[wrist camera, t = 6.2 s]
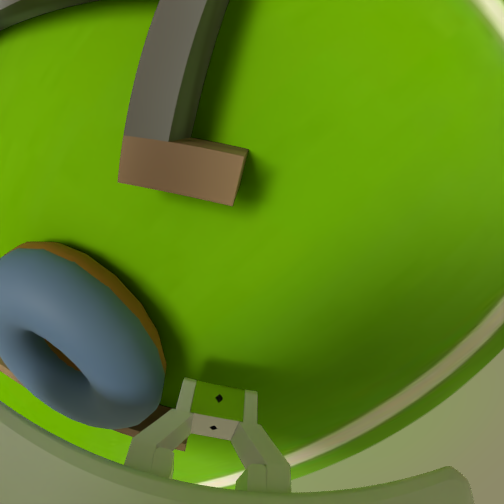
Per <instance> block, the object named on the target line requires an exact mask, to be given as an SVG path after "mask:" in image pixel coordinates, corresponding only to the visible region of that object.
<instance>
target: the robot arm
mask: <svg viewBox="0 0 504 504" xmlns="http://www.w3.org/2000/svg"><path fill="white" fill-rule="evenodd" d="M257 409H258V393H257V391H252V390H244V389H241V388H235V387H229V386H223V385H216V384H212V383H207V382H203V381H199V380H195V379H191V378H186V377H185V378H184V380H183V383H182V387H181V391H180V394H179V398H178V402H177V406H176V409H173V408H172V409H171V410H169V411H168V412H167V413H166V414H164V415H163V416H162V417H160V418H159V419H158V420H156V421H155V422H154V423H152V424H151V425H150V426H148V427H147V428H145V429H144V430H143V431H141V432H140V433H139V434H137V435H136V436H134V437H133V438H132V441H131V444H130V448H129V451H128V454H127V457H126V460H125V463H124V465H122V464H119V463H117V462H114V461H111V460H109V459H106V458H103V457H101V456H98V455H96V454H94V453H91V452H89V451H87V450H84V449H82V448H80V447H78V446H76V445H74V444H72V443H69V442H67V441H65V440H63V439H61V438H60V437H58V436H56V435H54V434H52V433H50V432H48V431H47V430H45V429H43V428H41V427H40V426H38V425H36V424H34V423H33V422H31V421H30V420H28V419H26V418H25V417H23V416H22V415H20V414H19V413H17V412H16V411H14V410H13V409H11V408H10V407H8V406H7V405H5V404H4V403H3V402H1V401H0V504H474V500H473V496H472V491H471V488H470V484H469V482H468V480H467V479H466V478H465V477H464V476H463V475H462V474H461V473H460V472H458V471H457V470H456V469H454V468H453V467H451V466H446V467H442V468H440V469H436V470H433V471H430V472H427V473H423V474H420V475H416V476H413V477H409V478H405V479H401V480H397V481H393V482H388V483H383V484H377V485H372V486H366V487H360V488H352V489H344V490H334V491H322V492H303V493H302V492H301V493H291V473H290V464H289V463H288V462H287V461H286V459H285V458H284V457H283V455H282V454H281V452H280V451H279V450H278V448H277V447H276V446H275V444H274V443H273V441H272V440H271V439H270V437H269V436H268V434H267V433H266V432H265V430H264V429H263V427H262V426H261V425H259V424H257ZM190 433H193V434H198V435H204V436H210V437H215V438H220V439H225V440H231V443H232V445H233V447H234V449H235V451H236V452H237V454H238V456H239V458H240V460H241V462H242V463H243V465H244V467H245V469H246V470H245V471H244V472H243V474H242V475H241V476H240V477H239V478H238V480H237V481H236V488H235V490H232V489H224V488H216V487H210V486H204V485H198V484H193V483H188V482H183V481H178V480H174V479H172V476H173V471H174V453H173V452H172V451H173V450H174V449H175V448H176V447H177V446H178V445H180V444H181V443H182V442H183V441H184V440H185V439H186V438H187V437H188V436H189V435H190Z"/></svg>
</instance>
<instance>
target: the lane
mask: <svg viewBox="0 0 504 504" xmlns="http://www.w3.org/2000/svg"><path fill="white" fill-rule="evenodd" d="M93 1H99V0H0V30H2V29H5V28H7V27H9V26H12V25H14V24H17V23H19V22H22V21H24V20H27V19H30V18H33V17H36V16H39V15H42V14H45V13H48V12H51V11H55V10H58V9H62V8H66V7H70V6H74V5H78V4H83V3H88V2H93ZM228 2H229V0H160V1H159V4H158V6H157V9H156V11H155V14H154V17H153V20H152V23H151V26H150V28H149V31H148V35H147V38H146V41H145V44H144V47H143V51H142V54H141V58H140V61H139V65H138V69H137V73H136V77H135V81H134V85H133V89H132V94H131V98H130V103H129V108H128V113H127V119H126V124H125V130H124V136H123V143H122V149H121V157H120V165H119V174H118V182H119V183H125V184H130V185H135V186H140V187H145V188H150V189H155V190H160V191H165V192H170V193H175V194H180V195H184V196H189V197H194V198H198V199H203V200H207V201H212V202H216V203H221V204H225V205H229V206H233V203H234V201H235V198H236V195H237V192H238V189H239V186H240V182H241V178H242V174H243V170H244V166H245V162H246V158H247V154H248V150H249V149H245V148H241V147H236V146H232V145H227V144H222V143H217V142H212V141H207V140H202V139H197V138H191V135H192V130H193V126H194V121H195V117H196V112H197V108H198V104H199V100H200V96H201V92H202V88H203V84H204V80H205V77H206V73H207V69H208V66H209V62H210V59H211V55H212V52H213V48H214V45H215V42H216V38H217V35H218V32H219V29H220V26H221V23H222V20H223V17H224V14H225V11H226V8H227V5H228ZM0 371H1V372H3V373H4V374H6V375H7V376H9V377H10V378H12V379H13V380H15V381H16V382H18V383H19V384H21V385H22V386H24V385H23V384H22V383H21V382H20V381H19V380H18V379H17V378H16V377H15V376H14V375H13V373H12V372H11V371H10V370H9V368H8V367H7V366H6V365H5V363H4V362H3V360H2V359H1V357H0ZM24 387H25V386H24ZM171 409H172V408H168V407H165V406H161V405H158V407H157V409H156V410H155V411H154V412H153V413H152V414H151V415H149V416H148V417H147V418H146V419H145V420H143V421H142V422H141V423H140V424H138V425H136V426H132V427H128V428H122V429H115V431H117V432H120V433H123V434H126V435H129V436H132V437H134V436H136V435H137V434H139V433H140V432H141V431H143V430H144V429H145V428H147V427H148V426H150V425H151V424H152V423H154V422H155V421H156V420H158V419H159V418H160V417H162V416H163V415H164V414H166V413H167V412H168V411H169V410H171ZM112 430H113V429H112ZM187 438H188V437H187ZM187 438H186V439H185V440H184V441H183V442H182V443H181V444H180V445H178V446H177V447H176V448H175V449H177V450H181V451H185V448H186V443H187Z"/></svg>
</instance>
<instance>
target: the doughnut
mask: <svg viewBox="0 0 504 504" xmlns="http://www.w3.org/2000/svg"><path fill="white" fill-rule="evenodd" d="M0 357H1V359H2V360H3V362H4V363H5V365H6V366H7V367H8V368H9V370H10V371H11V372H12V373H13V375H14V376H15V377H16V378H17V379H18V380H19V381H20V382H21V383H22V384H23V385H24V386H25V387H26V388H27V389H28V390H29V391H30V392H31V393H32V394H33V395H34V396H36V397H37V398H38V399H40V400H41V401H42V402H44V403H45V404H47V405H48V406H49V407H51V408H52V409H54V410H56V411H57V412H59V413H61V414H63V415H65V416H67V417H68V418H70V419H72V420H75V421H78V422H81V423H83V424H86V425H89V426H93V427H99V428H106V429H113V430H115V429H122V428H128V427H132V426H136V425H138V424H140V423H141V422H142V421H143V420H145V419H146V418H147V417H148V416H149V415H151V414H152V413H153V412H154V411H155V410H156V409H157V407H158V405H159V403H160V401H161V396H162V391H163V385H164V379H165V374H166V366H167V364H166V360H165V357H164V353H163V349H162V345H161V341H160V337H159V334H158V331H157V329H156V328H155V326H154V324H153V323H152V321H151V319H150V318H149V316H148V314H147V313H146V311H145V309H144V307H143V306H142V304H141V303H140V302H139V300H138V299H137V298H136V297H135V296H134V295H133V294H132V293H131V292H130V291H129V290H128V289H127V288H126V286H125V285H124V284H123V283H122V282H121V281H120V280H119V279H118V278H117V276H116V275H114V274H113V273H111V272H110V271H109V270H107V269H106V268H105V267H103V266H102V265H100V264H99V263H98V262H96V261H95V260H94V259H92V258H91V257H90V256H88V255H87V254H85V253H83V252H80V251H78V250H75V249H73V248H70V247H68V246H66V245H63V244H61V243H57V242H26V243H23V244H21V245H19V246H17V247H16V248H14V249H13V250H11V251H9V252H8V253H6V254H5V255H4V256H3V257H2V258H0Z"/></svg>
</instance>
